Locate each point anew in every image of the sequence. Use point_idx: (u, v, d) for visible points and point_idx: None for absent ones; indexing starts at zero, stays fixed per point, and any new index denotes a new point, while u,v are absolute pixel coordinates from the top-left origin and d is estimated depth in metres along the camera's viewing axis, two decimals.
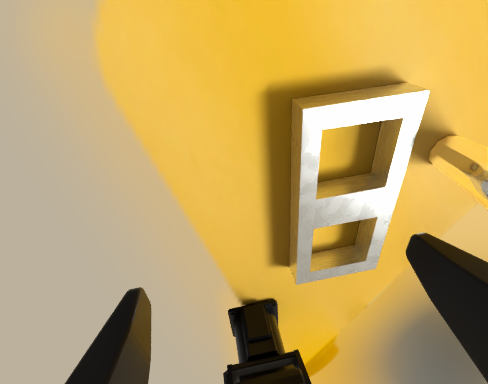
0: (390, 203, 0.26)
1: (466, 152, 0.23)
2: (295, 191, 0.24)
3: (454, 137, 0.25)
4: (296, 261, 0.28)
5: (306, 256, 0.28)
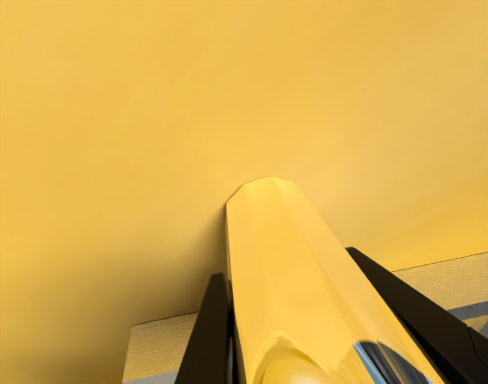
0: None
1: None
2: None
3: (226, 230, 0.10)
4: None
5: None
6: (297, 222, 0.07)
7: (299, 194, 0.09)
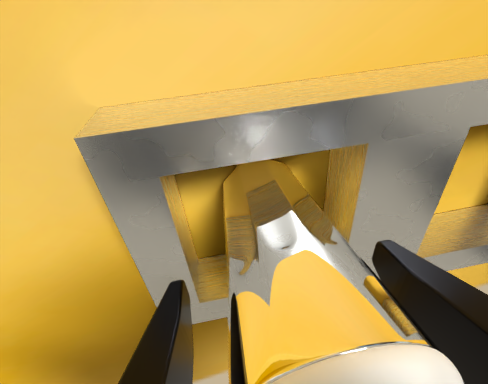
0: (439, 104, 0.08)
1: None
2: None
3: (223, 207, 0.11)
4: None
5: (483, 251, 0.13)
6: (282, 191, 0.09)
7: (287, 171, 0.10)
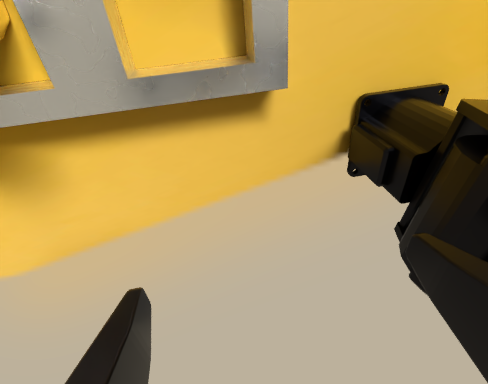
0: None
1: None
2: None
3: None
4: None
5: (204, 79, 0.14)
6: None
7: None
